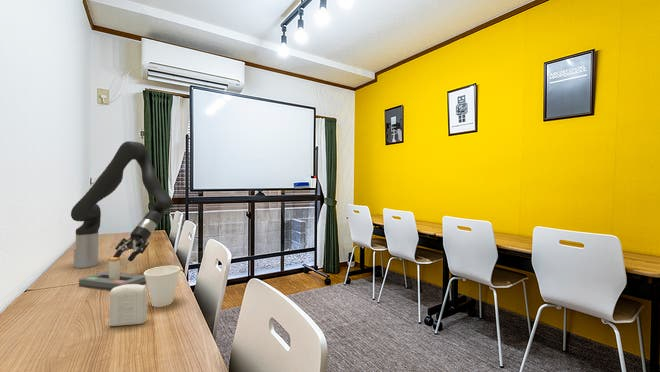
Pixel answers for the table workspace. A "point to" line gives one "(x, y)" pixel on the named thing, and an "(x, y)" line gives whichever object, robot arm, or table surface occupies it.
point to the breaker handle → (114, 268)
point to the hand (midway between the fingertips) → (121, 259)
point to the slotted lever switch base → (111, 280)
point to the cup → (162, 284)
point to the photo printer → (128, 305)
